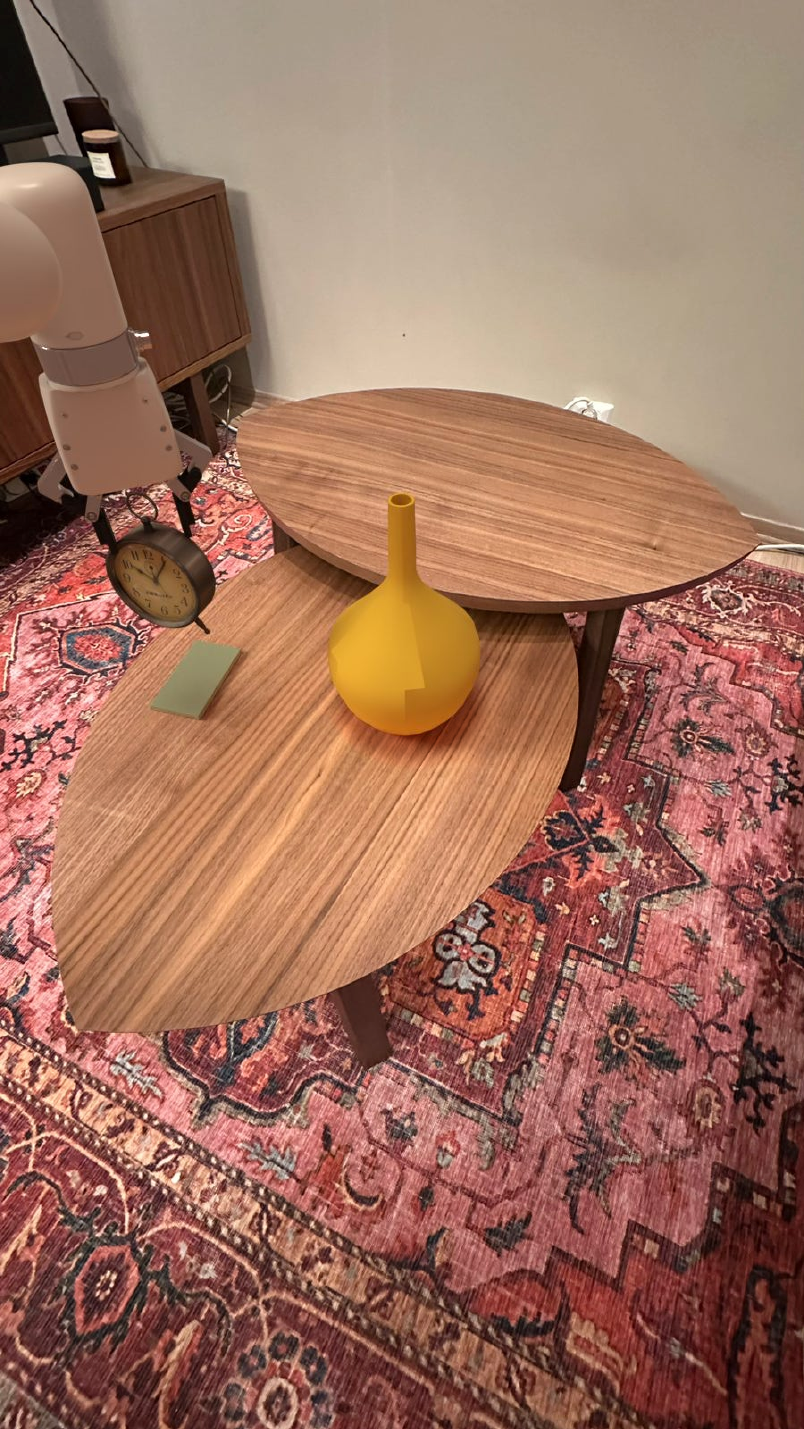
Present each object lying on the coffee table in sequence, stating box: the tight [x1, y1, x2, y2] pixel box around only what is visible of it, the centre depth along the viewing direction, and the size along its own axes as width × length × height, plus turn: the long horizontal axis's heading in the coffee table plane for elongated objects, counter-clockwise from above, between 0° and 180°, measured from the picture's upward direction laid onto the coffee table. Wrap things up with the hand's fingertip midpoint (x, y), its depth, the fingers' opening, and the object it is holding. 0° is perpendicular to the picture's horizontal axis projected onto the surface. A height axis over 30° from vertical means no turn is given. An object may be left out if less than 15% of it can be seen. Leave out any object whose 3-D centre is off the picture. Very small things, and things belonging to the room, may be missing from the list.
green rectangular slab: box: [149, 639, 243, 721], centre depth 92 cm, size 13×7×1 cm, turn 164°
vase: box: [326, 492, 482, 736], centre depth 78 cm, size 18×18×30 cm
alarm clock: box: [105, 491, 217, 636], centre depth 72 cm, size 11×5×16 cm, turn 72°
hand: (150, 538), depth 70 cm, fingers closed on alarm clock, 6 cm apart
